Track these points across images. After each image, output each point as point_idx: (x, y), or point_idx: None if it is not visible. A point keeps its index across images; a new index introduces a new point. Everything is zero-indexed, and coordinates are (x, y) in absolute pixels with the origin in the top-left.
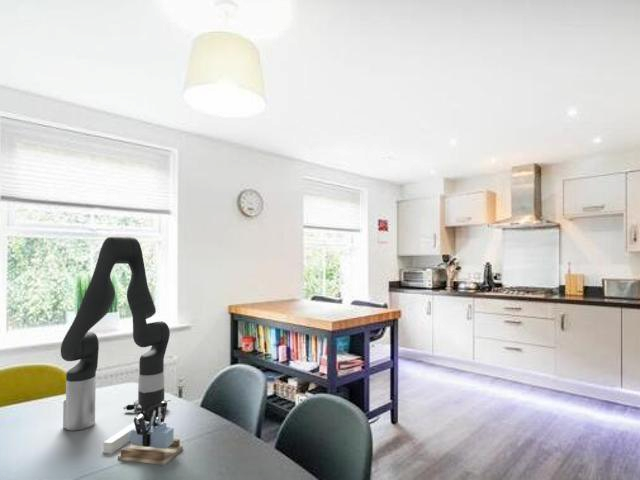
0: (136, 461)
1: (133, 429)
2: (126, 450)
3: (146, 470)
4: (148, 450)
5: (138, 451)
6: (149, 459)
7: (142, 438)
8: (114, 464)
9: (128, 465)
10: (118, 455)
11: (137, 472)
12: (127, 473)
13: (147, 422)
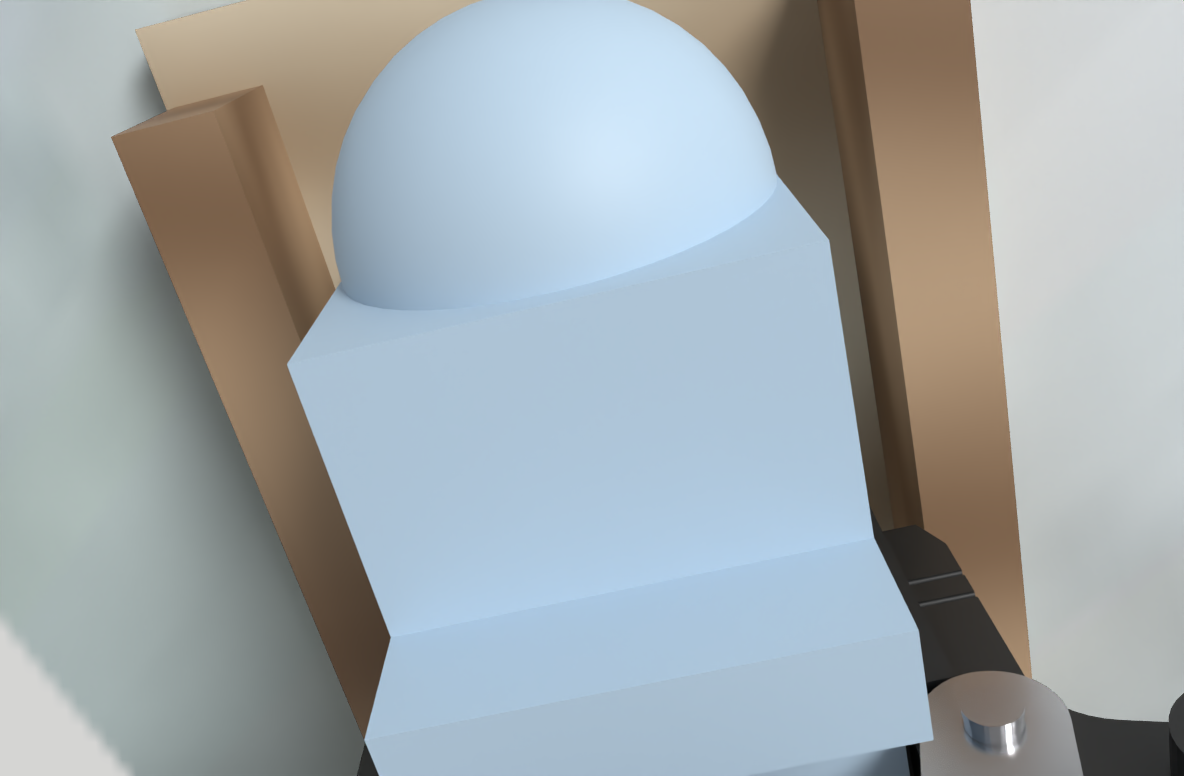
0: None
1: (373, 389)
2: (183, 298)
3: (250, 771)
4: None
5: (301, 583)
6: None
7: (364, 756)
8: (21, 145)
9: (169, 422)
10: (164, 22)
11: (136, 707)
12: (20, 604)
13: (841, 725)
